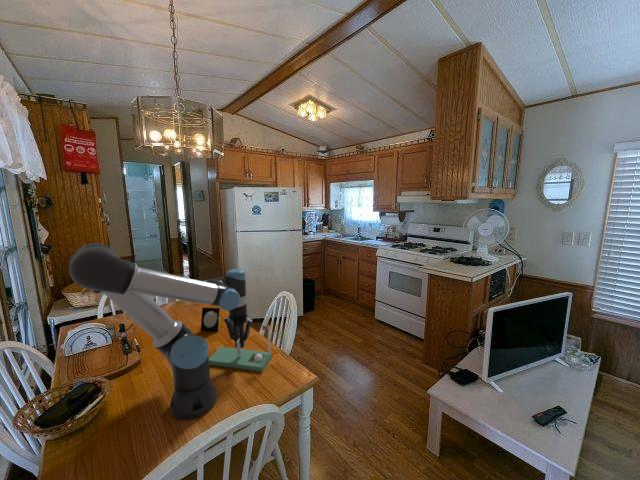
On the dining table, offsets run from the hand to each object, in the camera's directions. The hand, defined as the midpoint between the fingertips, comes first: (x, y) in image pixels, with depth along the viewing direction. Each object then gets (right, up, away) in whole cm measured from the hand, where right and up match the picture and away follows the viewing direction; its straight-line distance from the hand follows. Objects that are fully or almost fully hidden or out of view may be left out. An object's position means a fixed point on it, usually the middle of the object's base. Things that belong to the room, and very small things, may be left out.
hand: (240, 353), depth 123 cm
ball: (+9, -2, -1) cm, 9 cm away
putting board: (0, -3, +1) cm, 3 cm away
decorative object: (-24, +1, +31) cm, 39 cm away
